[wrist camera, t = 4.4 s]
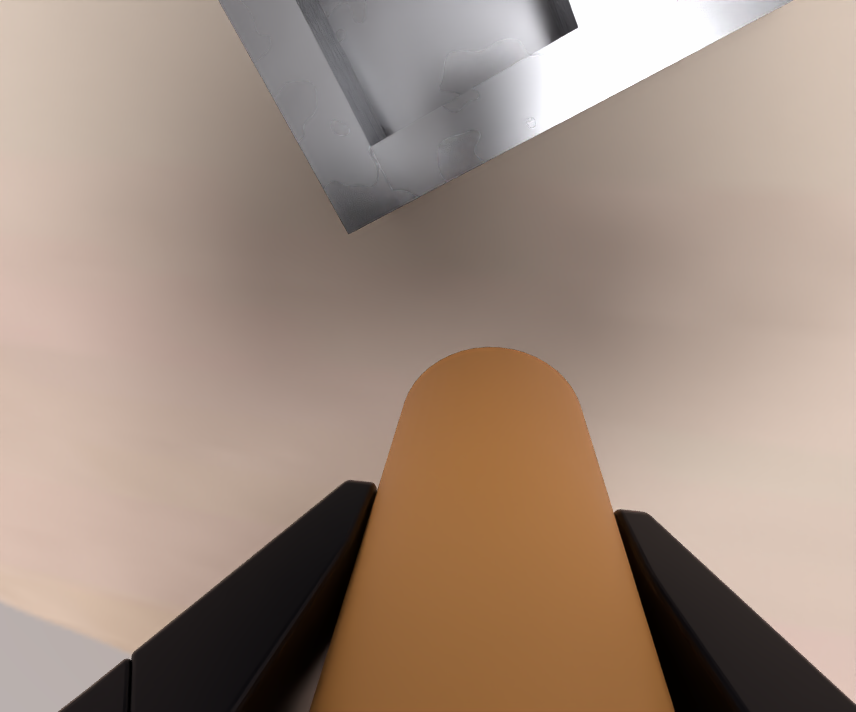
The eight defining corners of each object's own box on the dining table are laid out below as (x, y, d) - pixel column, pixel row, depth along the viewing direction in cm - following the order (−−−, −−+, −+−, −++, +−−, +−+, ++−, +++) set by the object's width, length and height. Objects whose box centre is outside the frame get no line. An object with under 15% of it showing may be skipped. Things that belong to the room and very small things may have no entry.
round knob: (442, 537, 10) (340, 1415, 3) (346, 382, 9) (-133, 1242, 2) (632, 477, 9) (1062, 1569, 2) (551, 292, 8) (934, 1408, 1)
